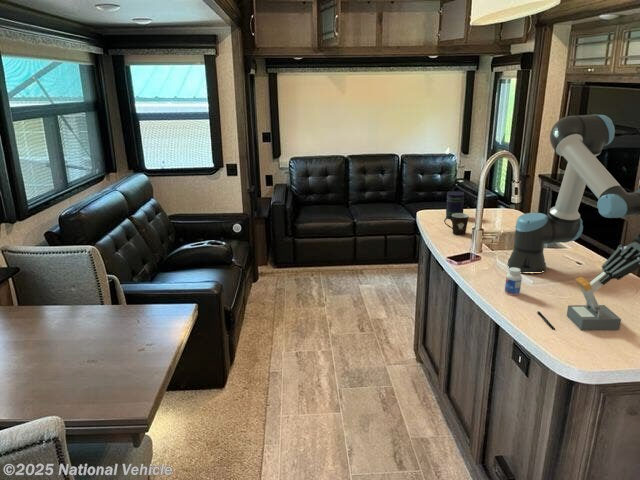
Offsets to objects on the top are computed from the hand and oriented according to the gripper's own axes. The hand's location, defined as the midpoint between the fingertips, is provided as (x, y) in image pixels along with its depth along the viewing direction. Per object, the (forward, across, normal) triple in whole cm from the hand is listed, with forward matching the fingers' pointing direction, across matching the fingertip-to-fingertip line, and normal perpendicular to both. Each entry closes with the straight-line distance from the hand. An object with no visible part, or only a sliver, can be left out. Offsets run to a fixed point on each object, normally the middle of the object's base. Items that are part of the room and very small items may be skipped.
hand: (590, 288), depth 151 cm
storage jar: (+18, +128, 0) cm, 130 cm away
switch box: (+7, 0, -10) cm, 13 cm away
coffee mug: (+22, +99, +4) cm, 101 cm away
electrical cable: (+18, +2, -1) cm, 18 cm away
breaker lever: (+3, 0, -7) cm, 8 cm away
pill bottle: (+20, +24, +2) cm, 31 cm away
